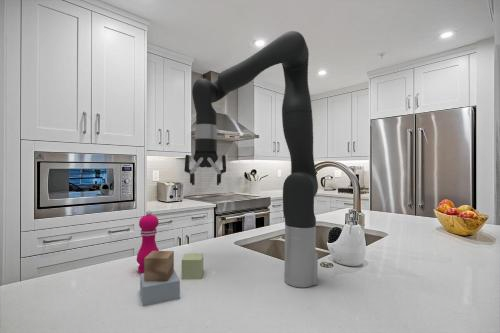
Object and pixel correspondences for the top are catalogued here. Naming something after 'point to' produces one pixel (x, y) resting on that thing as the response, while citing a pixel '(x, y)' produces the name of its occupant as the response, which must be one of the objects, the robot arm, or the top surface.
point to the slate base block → (159, 290)
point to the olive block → (192, 266)
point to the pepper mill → (147, 238)
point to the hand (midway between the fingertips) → (205, 184)
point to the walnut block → (158, 266)
